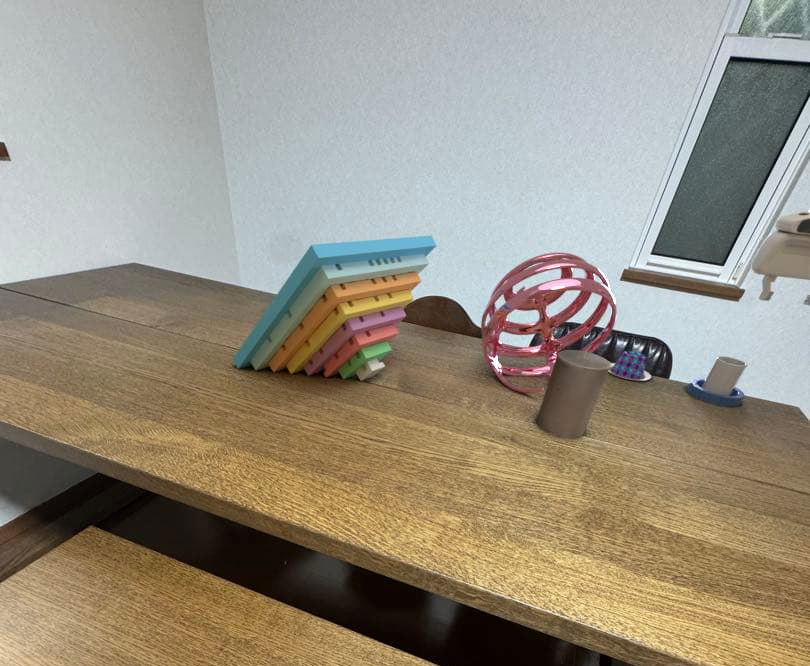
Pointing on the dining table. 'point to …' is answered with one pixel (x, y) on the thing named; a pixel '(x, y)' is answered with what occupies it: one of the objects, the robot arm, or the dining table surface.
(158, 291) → the dining table surface
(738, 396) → the tape ring
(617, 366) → the pudding
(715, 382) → the cup
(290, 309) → the rainbow stepped pyramid
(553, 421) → the pillar candle
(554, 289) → the spiral basket
